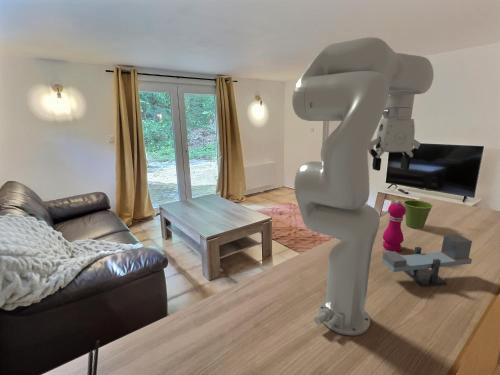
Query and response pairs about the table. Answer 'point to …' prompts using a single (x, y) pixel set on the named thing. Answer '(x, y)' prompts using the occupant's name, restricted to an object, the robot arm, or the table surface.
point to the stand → (427, 273)
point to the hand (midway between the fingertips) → (390, 169)
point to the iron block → (456, 246)
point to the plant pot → (416, 213)
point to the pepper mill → (394, 227)
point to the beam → (418, 261)
